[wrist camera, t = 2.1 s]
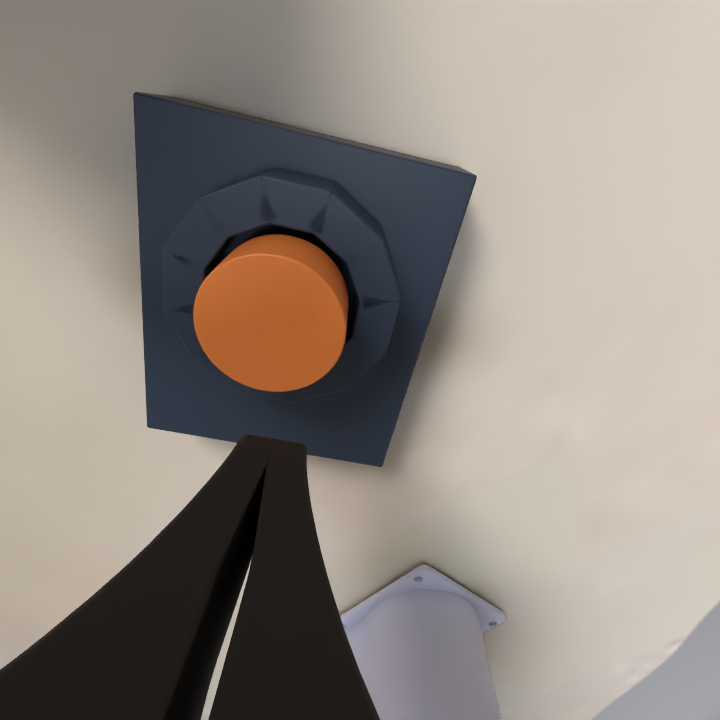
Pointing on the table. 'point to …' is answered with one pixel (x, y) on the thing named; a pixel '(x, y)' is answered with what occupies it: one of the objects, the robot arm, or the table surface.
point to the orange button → (273, 313)
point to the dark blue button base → (299, 219)
